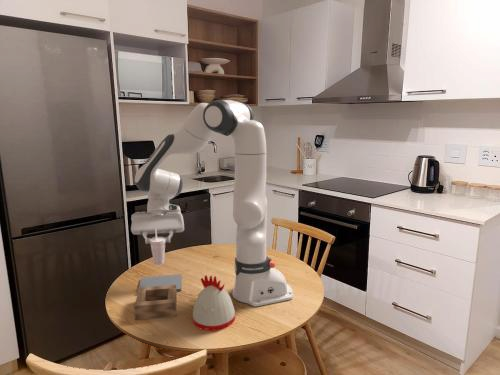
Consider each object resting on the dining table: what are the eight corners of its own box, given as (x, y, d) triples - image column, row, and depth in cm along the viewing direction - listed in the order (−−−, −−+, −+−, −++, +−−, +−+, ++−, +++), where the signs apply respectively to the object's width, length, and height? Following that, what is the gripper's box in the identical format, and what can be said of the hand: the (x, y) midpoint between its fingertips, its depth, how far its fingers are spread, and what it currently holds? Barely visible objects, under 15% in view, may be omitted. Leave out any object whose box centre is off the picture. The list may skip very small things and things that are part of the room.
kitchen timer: (205, 304, 130) (204, 265, 127) (241, 312, 125) (240, 270, 122) (184, 325, 117) (182, 282, 114) (223, 334, 112) (222, 289, 109)
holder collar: (176, 297, 135) (176, 284, 134) (175, 316, 122) (175, 302, 121) (140, 300, 133) (139, 287, 132) (135, 320, 120) (134, 306, 119)
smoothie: (149, 261, 144) (147, 226, 142) (166, 258, 146) (164, 225, 144) (151, 267, 138) (149, 231, 136) (168, 264, 140) (166, 229, 138)
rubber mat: (181, 276, 152) (181, 274, 152) (181, 291, 139) (180, 288, 139) (141, 279, 149) (141, 277, 149) (137, 294, 137) (137, 292, 136)
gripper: (130, 208, 143) (128, 240, 136) (183, 206, 147) (184, 237, 139) (132, 216, 148) (130, 247, 141) (184, 213, 152) (184, 244, 144)
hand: (157, 242), depth 140 cm, fingers closed on smoothie, 6 cm apart
